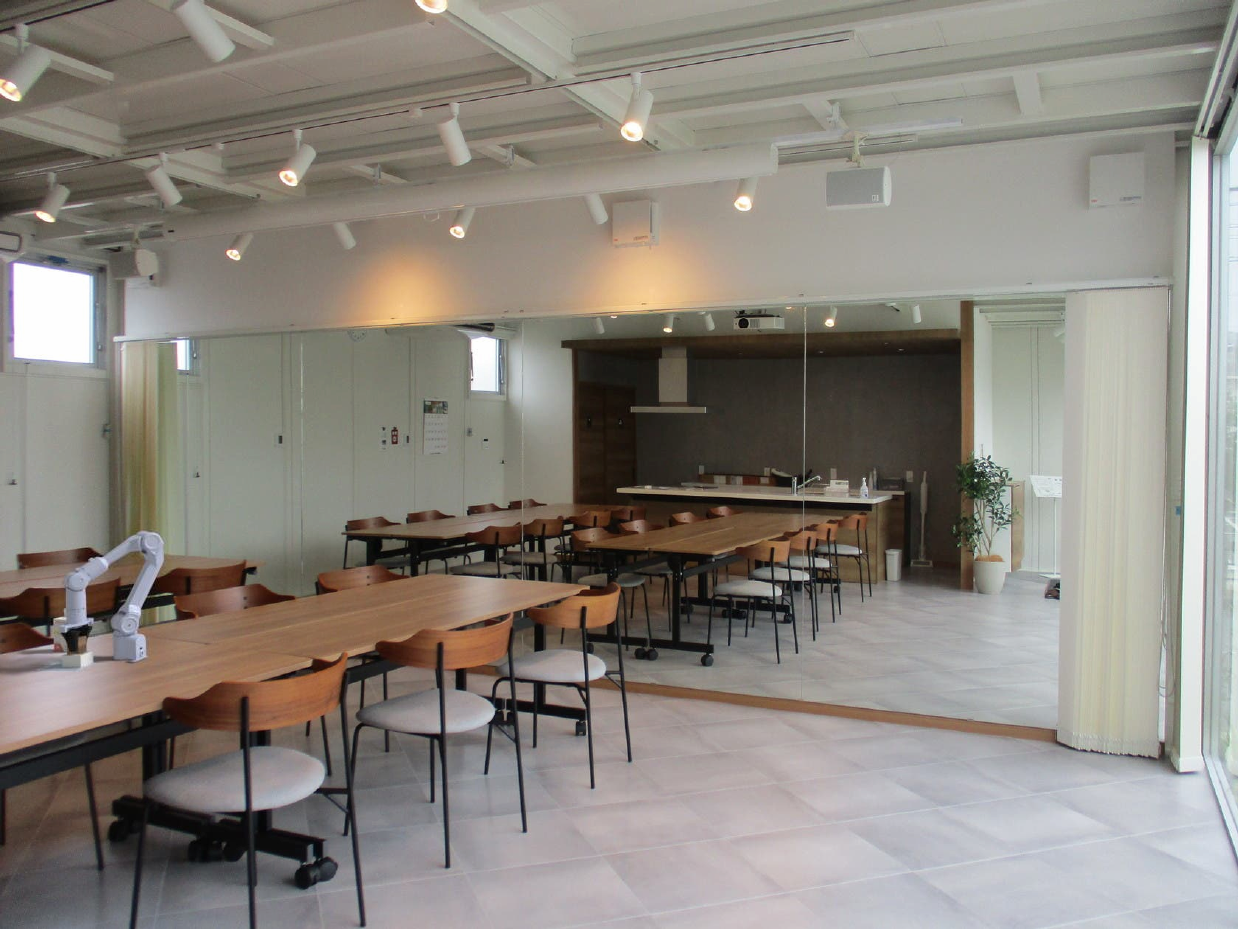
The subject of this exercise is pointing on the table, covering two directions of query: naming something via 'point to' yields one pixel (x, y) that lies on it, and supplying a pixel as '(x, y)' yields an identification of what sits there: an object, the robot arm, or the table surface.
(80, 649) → the walnut block
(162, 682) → the table surface
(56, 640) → the ink cartridge box
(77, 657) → the blueprint board
